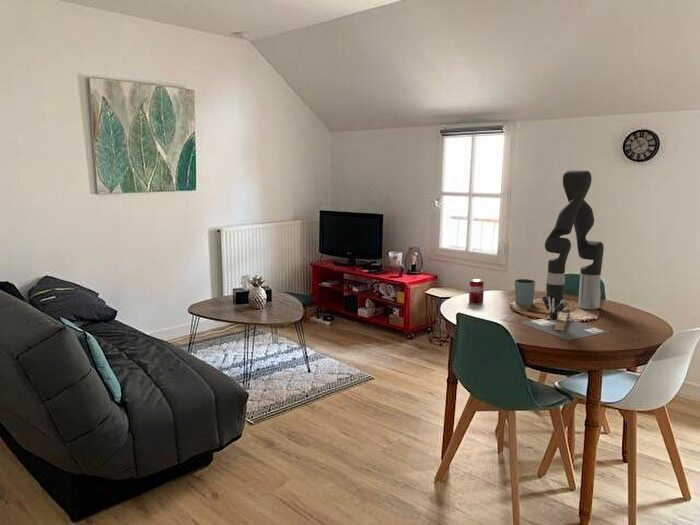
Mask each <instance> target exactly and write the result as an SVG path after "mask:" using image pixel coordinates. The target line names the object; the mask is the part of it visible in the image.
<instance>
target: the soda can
mask: <svg viewBox="0 0 700 525" xmlns="http://www.w3.org/2000/svg"><path fill="white" fill-rule="evenodd" d="M468 284H469V285H468V286H469V287H468V289H469V290H468V303H469V304H471V305H482V304H484V292H485V287H484V286H485V285H484V284H485V282H484V280H483V279H479V278H473V279H470V280H469V283H468Z"/></svg>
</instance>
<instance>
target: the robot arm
mask: <svg viewBox="0 0 700 525" xmlns="http://www.w3.org/2000/svg"><path fill="white" fill-rule="evenodd" d="M591 184H592V173H591V172H590V171H588V170H576V169H574V170H572V169H571V170H566V171H565V172H564V173H563V176H562V186H563V190H564V193H565V195H566V199H567V201H568V203H567V204H566V205H565V206H564V207H563V208H562V209H561V210H560V212H559V213H558V216H557V219H556V222H555V225H554V227H553V228H552V230H551V232H550V233H549V235H548V236H547V237H546V240H545V242H544V248H545V251H546V252H547V253H552V254H559V255H558V257H553V258H550V259H549V260H548V261H547V262H548V263H547V274H546V286H545V292H546V295H545V296H542V300H543V303H544V305H545V308H546V310H548V311H549V318H550V319H551V320H553V321H554V320H556V319H557V316H558V314H559V312H561V311H562V310H563V309H564V308H566V307H567V305H568V302H566V301H564V293H565V288H566V287H565V286H566V284H565V283H566V275H565V274H566V263H567V259H568V256H569V253H570V251H571V248H572V242H571V240H570V239H569V238H568V237H567V238H566V237H562V236H567V235H570V234H571V232H572V230H573V228H574V232H575V239H576V243H577V247H576V248H577V252H578V253H577V254H578V256H579V258H580V259H582V260H587V261H588V260H589V261H592V263H591V264H589V265H583V266H582V267H580V272H579V289H578V302H577V303H578V304H577V307H578V308H580V309H582V310H583V309H584V310H597V309H598V310H599V309H600V308H601V297H602V295H601V293H602V289H601V288H600V287H601V274H602V268H603V267H602V266H603V259H604V249H605V248H604V244H603V242H602V241H596V240H595V241H594V240H587V238H586V237H587V235H588V234H589V232H590V230H592V228H593V226H594V224H595V217H594V212H593V211H594V210H593V208H592V207H591V205H589V203H588V202H587V201H586V200H585V199H586V196H587V194H588V192H589V190H590V187H591Z"/></svg>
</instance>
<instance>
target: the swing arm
mask: <svg viewBox="0 0 700 525" xmlns="http://www.w3.org/2000/svg"><path fill="white" fill-rule="evenodd" d="M570 311H571V309H570V308H567V307H564V309H563V310H562V311H561V312H558V314H557V316H558V317H557V319H556V322H555V330H562V331H564V329H565V326H566V323H567V321H568V319H570V315H571V312H570Z"/></svg>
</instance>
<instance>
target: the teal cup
mask: <svg viewBox="0 0 700 525" xmlns="http://www.w3.org/2000/svg"><path fill="white" fill-rule="evenodd" d="M535 287H536V280H534V279H529V278H519V279H515V280H514V292H515V304H516V305H517V306H522V305H530V306H533V305H534V297H535V289H536V288H535ZM532 304H533V305H532Z"/></svg>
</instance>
